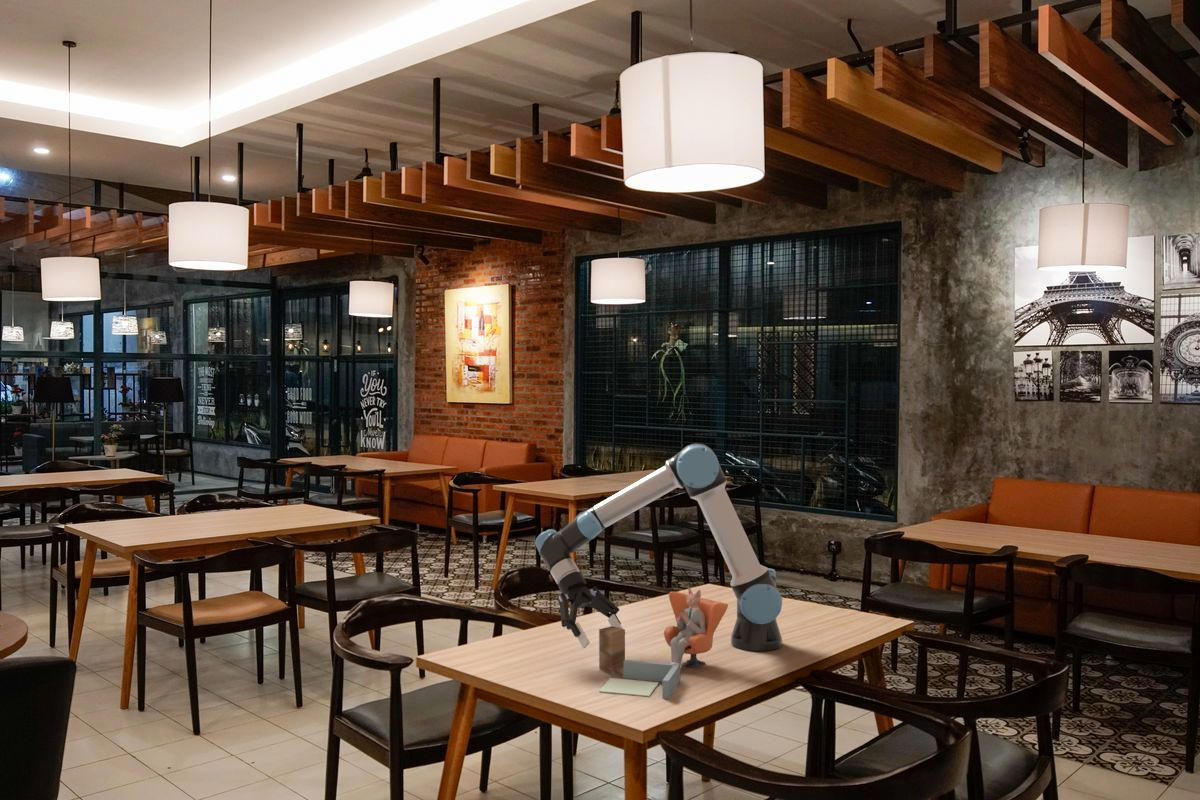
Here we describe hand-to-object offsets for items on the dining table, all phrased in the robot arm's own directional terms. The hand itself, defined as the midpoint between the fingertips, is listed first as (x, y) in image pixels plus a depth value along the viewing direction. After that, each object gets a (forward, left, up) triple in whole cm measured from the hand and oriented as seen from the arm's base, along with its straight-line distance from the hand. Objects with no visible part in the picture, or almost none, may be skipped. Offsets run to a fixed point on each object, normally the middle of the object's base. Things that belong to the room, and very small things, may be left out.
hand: (604, 640), depth 254 cm
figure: (-21, -7, -8) cm, 24 cm away
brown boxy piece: (-4, +2, -8) cm, 9 cm away
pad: (-11, +15, -7) cm, 20 cm away
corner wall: (-15, +13, -7) cm, 21 cm away
